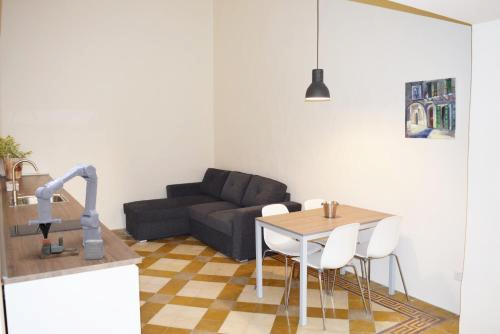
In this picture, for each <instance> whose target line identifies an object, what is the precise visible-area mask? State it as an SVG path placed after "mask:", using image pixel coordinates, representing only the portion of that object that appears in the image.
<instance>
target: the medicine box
mask: <svg viewBox="0 0 500 334" xmlns="http://www.w3.org/2000/svg"><path fill="white" fill-rule="evenodd" d="M83 247H84V248H83V249H84V250H83V251H84V260H102V259H103V258H104V256H105V255H104V250H105V249H104V240H103V239H102V240H87V241H85V242H84V246H83Z"/></svg>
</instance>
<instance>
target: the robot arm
mask: <svg viewBox="0 0 500 334" xmlns="http://www.w3.org/2000/svg"><path fill="white" fill-rule="evenodd" d="M75 177H81V178H82V179H83V180H85V182H86V188H85V200H84V201H85V203H84V210H83V211H82V212H81V216H80V217H79V218H80V219H79V224H80V226H81V227H82V239H83V240H82V246H83V247H84V242H85V241H87V240H103V239H102V231H101V228H102V227H101V226H99V225H100V218H99V213H98V212H97V210H96V209H97V208H96V207H97V193H98V174H97V168H96V167H95V166H94V165H93V164H90V163H89V164H84V163H78V164H76V165H74V166H73V167H72V168H71V169H70V170H68V171H67V172H66V173H64V174H63V175H62V176H61V177H59V178H58V177H55V178H54V177H53V178H52V179H51V180H50V181H49V182H48V183H46V184H45V183H44V184H43V186H40V187H37V189H36V190H35V192H34V196H35V198H36V201H37V212H38V213H37V215H38V216H37V219H35V220H34V219H33V220H29V221H28V224H27V225H28V226H35V225H38V227H39V229H40V231H41V233H42V236H43V240H45V239H48V237H49V232H50V228H51V226H52V224H61V223H62V218H52V205H51V204H52V202H51V199H52V198H53V195H54V194H55V193H57V191H59V190H61V189H62V188H63V187H64V184H65V183H67V182H69V181H70V180H72V179H73V178H75Z"/></svg>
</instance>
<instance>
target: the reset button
mask: <svg viewBox="0 0 500 334" xmlns="http://www.w3.org/2000/svg"><path fill="white" fill-rule="evenodd" d="M50 242H51V239H48V238H47V239H42V240H41V243H42V244H43V243H50Z"/></svg>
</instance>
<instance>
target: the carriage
mask: <svg viewBox="0 0 500 334" xmlns="http://www.w3.org/2000/svg"><path fill="white" fill-rule="evenodd" d="M63 238H64V237H63V236H60V237H58V243H51V252H61V251H63V249H64V239H63Z"/></svg>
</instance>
